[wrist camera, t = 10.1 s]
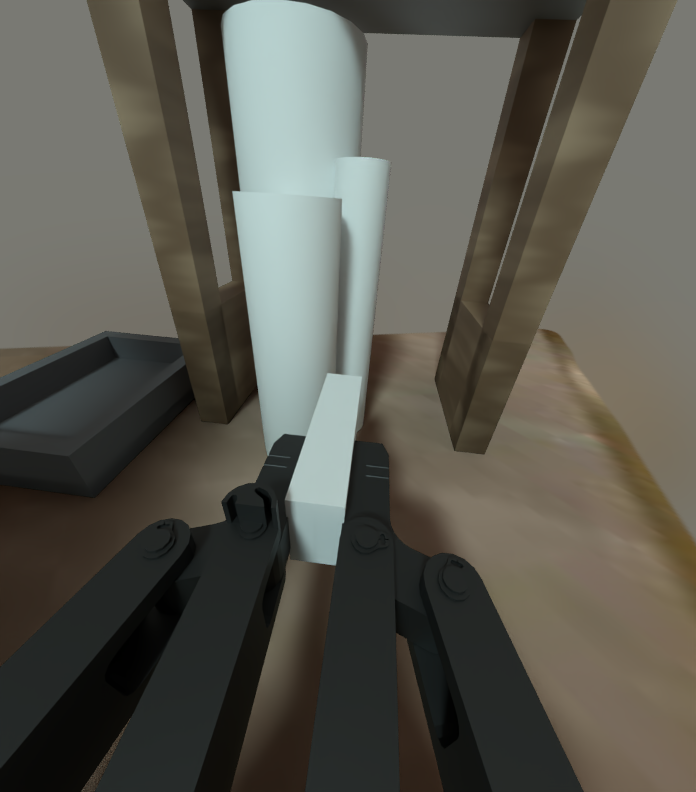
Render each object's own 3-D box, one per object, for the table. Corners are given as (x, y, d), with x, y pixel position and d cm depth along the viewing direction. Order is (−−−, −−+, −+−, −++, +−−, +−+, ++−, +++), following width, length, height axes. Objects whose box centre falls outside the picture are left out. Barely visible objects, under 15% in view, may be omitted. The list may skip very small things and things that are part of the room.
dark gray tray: (-77, 473, 16) (-122, 431, 14) (118, 361, 28) (105, 331, 26) (94, 497, 16) (68, 456, 14) (220, 372, 27) (213, 341, 26)
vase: (263, 380, 26) (224, 52, 16) (341, 374, 28) (356, 76, 17) (266, 476, 17) (180, -150, 6) (381, 459, 19) (466, -59, 8)
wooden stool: (201, 420, 21) (24, -229, 8) (253, 360, 30) (205, -13, 17) (484, 454, 20) (782, -248, 7) (455, 381, 28) (569, -4, 16)
